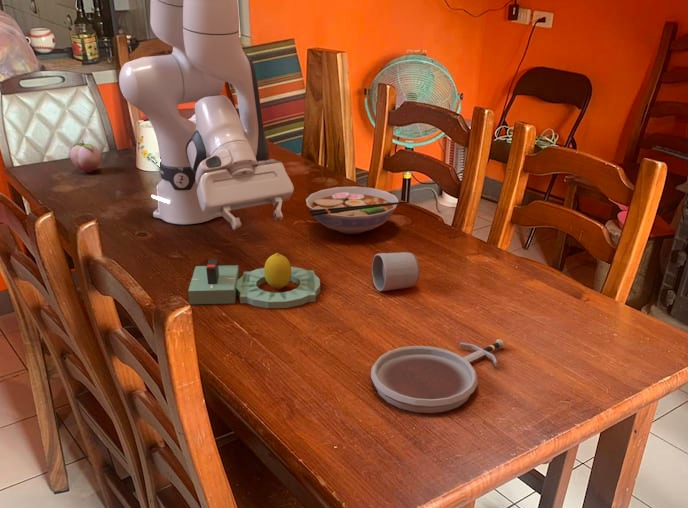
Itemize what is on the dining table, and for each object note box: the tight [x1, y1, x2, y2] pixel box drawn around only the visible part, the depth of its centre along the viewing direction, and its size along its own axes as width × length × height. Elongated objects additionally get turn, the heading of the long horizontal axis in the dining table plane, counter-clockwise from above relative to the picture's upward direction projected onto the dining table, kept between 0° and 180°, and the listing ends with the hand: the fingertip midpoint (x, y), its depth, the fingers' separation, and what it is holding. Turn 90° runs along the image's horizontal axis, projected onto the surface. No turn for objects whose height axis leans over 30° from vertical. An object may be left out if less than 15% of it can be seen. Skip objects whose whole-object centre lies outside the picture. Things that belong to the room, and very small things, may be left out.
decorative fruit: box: [69, 139, 102, 174], centre depth 210 cm, size 9×8×10 cm
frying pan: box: [370, 338, 505, 414], centre depth 111 cm, size 17×3×28 cm
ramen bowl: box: [305, 186, 411, 235], centre depth 167 cm, size 25×23×8 cm
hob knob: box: [206, 259, 219, 284], centre depth 136 cm, size 4×2×4 cm, turn 3°
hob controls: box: [187, 264, 240, 305], centre depth 138 cm, size 12×9×3 cm
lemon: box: [263, 252, 292, 291], centre depth 137 cm, size 6×6×8 cm
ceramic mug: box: [371, 251, 421, 292], centre depth 139 cm, size 11×8×8 cm
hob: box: [236, 266, 321, 309], centre depth 139 cm, size 17×17×2 cm
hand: (258, 223), depth 139 cm, fingers open, 8 cm apart
